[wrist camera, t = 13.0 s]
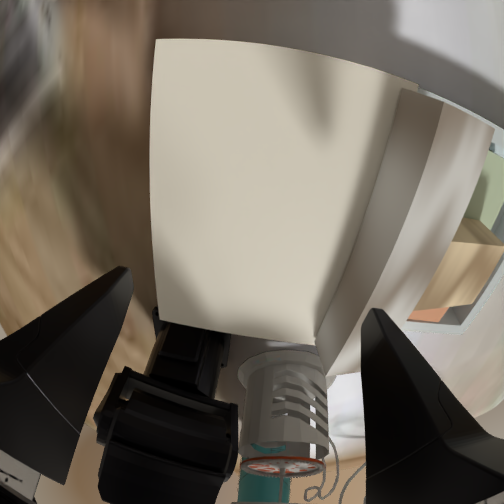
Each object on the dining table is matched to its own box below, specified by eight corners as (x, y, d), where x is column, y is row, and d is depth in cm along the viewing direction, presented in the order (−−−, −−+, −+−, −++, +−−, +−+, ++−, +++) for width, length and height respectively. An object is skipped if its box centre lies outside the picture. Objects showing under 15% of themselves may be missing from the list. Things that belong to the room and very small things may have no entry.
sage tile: (434, 216, 14) (417, 195, 16) (488, 234, 14) (470, 213, 16) (464, 137, 11) (441, 125, 13) (517, 167, 11) (494, 152, 13)
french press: (285, 334, 24) (259, 645, 4) (365, 380, 28) (372, 609, 7) (217, 376, 29) (175, 606, 8) (297, 411, 32) (284, 602, 12)
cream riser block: (318, 296, 21) (322, 346, 17) (179, 273, 21) (159, 319, 17) (383, 77, 12) (418, 84, 9) (189, 44, 12) (156, 39, 9)
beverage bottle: (236, 419, 35) (215, 558, 19) (283, 414, 33) (271, 565, 17) (258, 435, 38) (244, 557, 22) (301, 430, 36) (294, 561, 20)
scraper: (314, 341, 17) (416, 330, 18) (325, 376, 15) (431, 357, 16) (401, 87, 9) (509, 140, 10) (443, 101, 7) (543, 160, 8)
